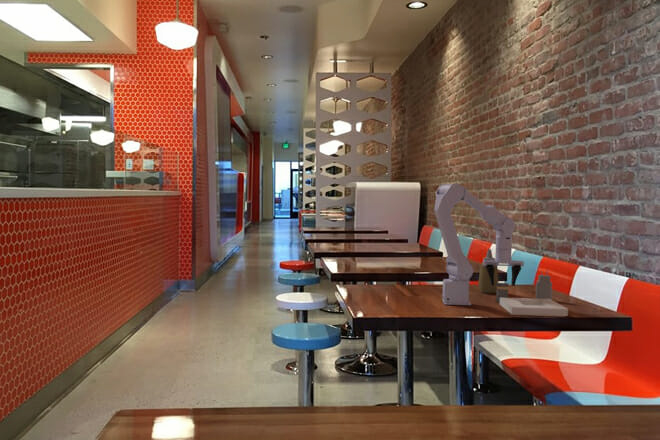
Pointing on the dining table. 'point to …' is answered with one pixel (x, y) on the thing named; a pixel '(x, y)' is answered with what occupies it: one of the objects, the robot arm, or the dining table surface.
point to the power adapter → (543, 287)
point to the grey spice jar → (502, 291)
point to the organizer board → (533, 307)
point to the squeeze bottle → (485, 279)
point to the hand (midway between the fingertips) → (502, 285)
